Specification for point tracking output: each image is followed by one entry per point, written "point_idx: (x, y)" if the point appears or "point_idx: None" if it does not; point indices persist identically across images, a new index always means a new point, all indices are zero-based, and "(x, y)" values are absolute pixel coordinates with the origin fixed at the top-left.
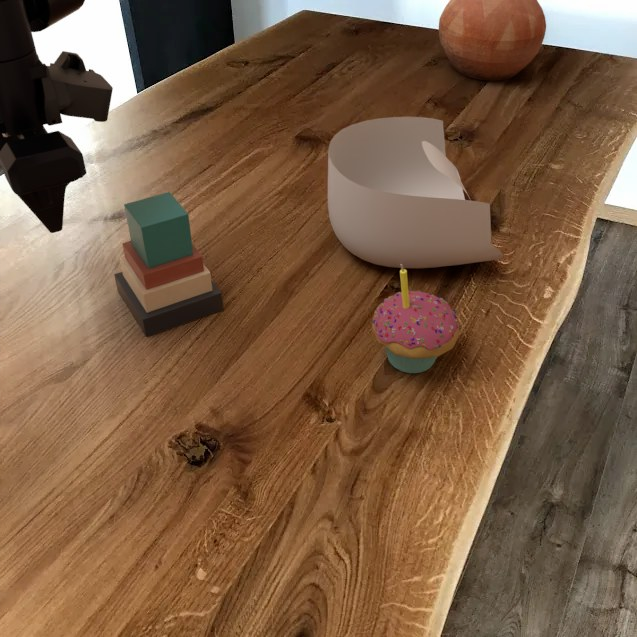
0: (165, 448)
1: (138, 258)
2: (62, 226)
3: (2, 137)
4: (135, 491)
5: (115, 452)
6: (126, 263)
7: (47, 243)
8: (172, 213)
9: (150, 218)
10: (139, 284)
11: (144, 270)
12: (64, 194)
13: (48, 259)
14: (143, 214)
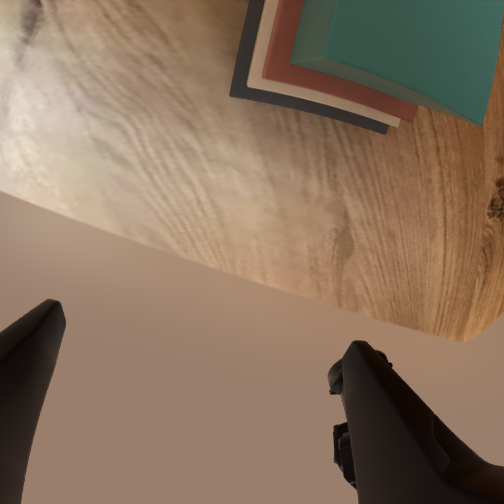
0: (488, 221)
1: (357, 89)
2: (371, 347)
3: (2, 487)
4: (487, 261)
5: (458, 255)
6: (282, 86)
7: (37, 144)
8: (484, 8)
9: (468, 68)
10: (369, 113)
11: (404, 112)
12: (462, 442)
13: (74, 156)
14: (438, 63)
